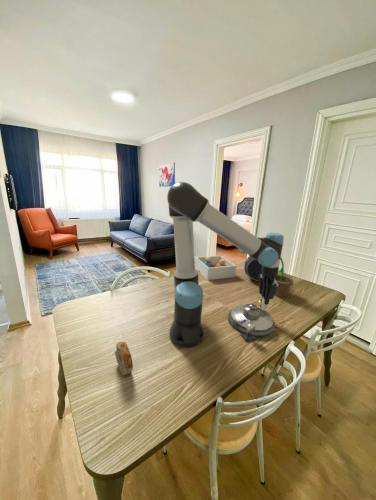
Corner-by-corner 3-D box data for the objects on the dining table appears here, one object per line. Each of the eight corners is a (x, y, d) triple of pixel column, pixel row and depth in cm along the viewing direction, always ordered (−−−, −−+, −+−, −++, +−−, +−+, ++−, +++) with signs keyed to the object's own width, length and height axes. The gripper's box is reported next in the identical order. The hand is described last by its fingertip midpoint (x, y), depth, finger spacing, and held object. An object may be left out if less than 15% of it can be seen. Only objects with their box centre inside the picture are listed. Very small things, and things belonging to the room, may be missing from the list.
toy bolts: (225, 268, 171) (227, 254, 168) (226, 277, 155) (227, 261, 151) (204, 266, 174) (205, 252, 170) (201, 274, 158) (203, 259, 154)
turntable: (259, 338, 90) (262, 325, 88) (222, 316, 104) (224, 304, 102) (279, 320, 103) (282, 308, 101) (244, 303, 117) (246, 292, 115)
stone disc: (135, 376, 71) (134, 353, 68) (124, 382, 69) (123, 357, 66) (124, 356, 79) (123, 334, 76) (114, 360, 77) (113, 338, 74)
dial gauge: (245, 341, 91) (248, 327, 88) (240, 335, 94) (242, 321, 92) (255, 339, 92) (257, 324, 90) (249, 333, 96) (252, 319, 94)
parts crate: (207, 280, 148) (208, 268, 146) (194, 267, 170) (195, 257, 167) (234, 276, 156) (236, 265, 154) (219, 265, 178) (220, 255, 175)
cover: (257, 322, 98) (259, 311, 96) (240, 316, 101) (242, 306, 100) (260, 313, 105) (262, 303, 103) (244, 309, 108) (245, 299, 107)
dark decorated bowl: (272, 284, 147) (277, 257, 141) (243, 280, 151) (246, 254, 145) (269, 278, 157) (274, 253, 151) (242, 275, 161) (245, 250, 155)
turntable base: (244, 341, 90) (245, 338, 90) (220, 313, 110) (220, 309, 109) (284, 332, 98) (285, 328, 97) (254, 307, 118) (255, 304, 117)
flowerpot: (267, 286, 145) (275, 244, 136) (290, 291, 139) (300, 248, 130) (265, 294, 132) (273, 249, 123) (290, 301, 126) (300, 254, 118)
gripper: (287, 269, 95) (278, 314, 102) (267, 260, 107) (261, 301, 113) (273, 271, 92) (266, 317, 99) (255, 261, 104) (250, 303, 111)
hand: (263, 308), depth 106 cm, fingers closed
